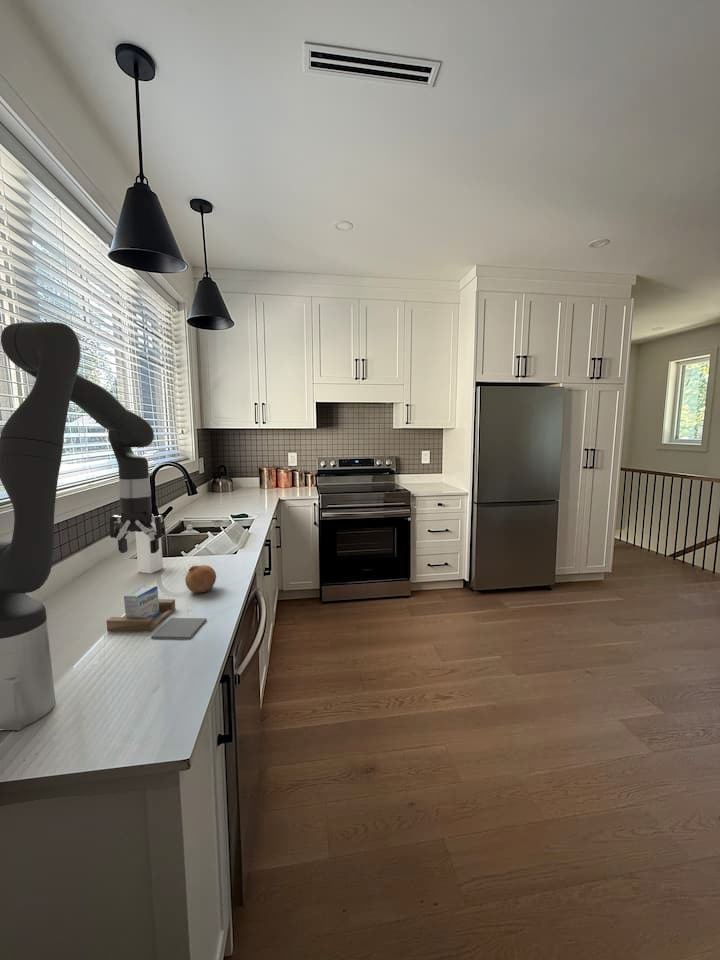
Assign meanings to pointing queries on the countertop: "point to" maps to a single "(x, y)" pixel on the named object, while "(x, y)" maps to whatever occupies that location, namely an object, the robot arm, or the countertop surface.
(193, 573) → the onion
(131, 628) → the frame
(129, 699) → the countertop surface
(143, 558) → the milk
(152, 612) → the medicine box
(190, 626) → the mat
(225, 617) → the countertop surface
